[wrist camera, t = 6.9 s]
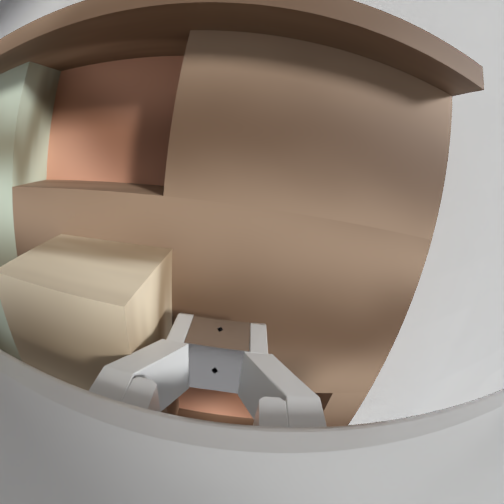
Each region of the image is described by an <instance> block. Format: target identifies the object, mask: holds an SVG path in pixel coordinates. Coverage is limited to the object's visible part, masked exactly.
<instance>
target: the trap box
mask: <svg viewBox="0 0 504 504" xmlns="http://www.w3.org/2000/svg"><path fill="white" fill-rule="evenodd" d="M480 90H484V80H483V68H482V66H481V65H479V64H478V63H477V62H475V61H474V60H472V59H471V58H470V57H468V56H467V55H465V54H464V53H462V52H461V51H459V50H458V49H456V48H454V47H453V46H451V45H450V44H448V43H446V42H445V41H443V40H441V39H440V38H438V37H436V36H434V35H432V34H431V33H429V32H427V31H425V30H423V29H421V28H419V27H417V26H415V25H413V24H411V23H409V22H407V21H405V20H403V19H400V18H398V17H396V16H393V15H391V14H389V13H386V12H384V11H381V10H379V9H376V8H373V7H371V6H368V5H365V4H362V3H359V2H356V1H353V0H85V1H81V2H79V3H76V4H73V5H70V6H67V7H65V8H62V9H60V10H57V11H55V12H52V13H50V14H48V15H45V16H43V17H41V18H39V19H37V20H35V21H33V22H31V23H29V24H27V25H25V26H23V27H21V28H19V29H17V30H15V31H13V32H12V33H10V34H8V35H6V36H5V37H3V38H1V39H0V267H1V266H3V265H4V264H6V263H8V262H9V261H11V260H13V259H15V258H17V257H18V256H20V255H22V254H24V253H26V252H27V251H29V250H31V249H33V248H35V247H37V246H39V245H41V244H43V243H45V242H46V241H48V240H50V239H52V238H54V237H56V236H58V235H61V234H65V235H72V236H79V237H86V238H94V239H101V240H108V241H116V242H123V243H131V244H138V245H146V246H153V247H161V248H168V249H173V250H172V326H173V324H174V321H175V319H176V317H177V315H178V314H179V313H186V314H193V315H198V316H204V317H210V318H216V319H223V320H228V321H238V322H248V323H263V324H266V329H267V344H268V354H273V355H274V356H275V357H276V358H277V359H278V360H279V361H280V362H281V363H282V364H283V365H285V366H286V367H287V368H288V369H289V370H290V371H291V372H292V373H293V374H294V375H295V376H296V377H298V378H299V379H300V380H301V381H302V382H303V383H304V384H305V385H306V386H307V387H309V388H310V389H311V390H312V391H313V392H314V393H315V394H316V395H318V396H319V397H320V400H321V404H322V408H323V413H324V417H325V421H326V426H327V427H333V426H347V425H348V424H349V423H350V421H351V420H352V418H353V417H354V415H355V413H356V412H357V410H358V409H359V407H360V405H361V404H362V402H363V400H364V399H365V397H366V395H367V394H368V392H369V390H370V388H371V387H372V385H373V383H374V381H375V379H376V377H377V376H378V374H379V372H380V370H381V368H382V366H383V364H384V362H385V360H386V358H387V356H388V354H389V352H390V350H391V348H392V346H393V344H394V341H395V339H396V337H397V335H398V333H399V330H400V328H401V326H402V323H403V321H404V319H405V316H406V314H407V311H408V309H409V306H410V304H411V301H412V299H413V296H414V293H415V290H416V288H417V285H418V282H419V279H420V276H421V273H422V270H423V267H424V264H425V261H426V257H427V254H428V251H429V247H430V244H431V240H432V236H433V232H434V229H435V224H436V220H437V216H438V212H439V207H440V202H441V197H442V192H443V187H444V181H445V175H446V168H447V161H448V153H449V144H450V132H451V117H452V96H455V95H460V94H465V93H470V92H475V91H480ZM0 349H1V350H2V351H4V352H6V353H8V354H9V355H11V356H13V357H15V358H17V359H18V360H20V361H22V360H21V357H20V355H19V353H18V350H17V348H16V345H15V343H14V340H13V337H12V334H11V332H10V329H9V326H8V323H7V320H6V317H5V314H4V310H3V307H2V303H1V300H0ZM161 412H163V413H167V414H172V415H177V416H182V417H188V418H193V419H200V420H206V421H213V422H221V423H229V424H239V425H251V426H253V423H254V419H253V418H252V416H251V415H250V413H249V411H248V410H247V408H246V407H245V405H244V404H243V402H242V401H241V399H240V398H239V396H238V394H236V393H229V392H222V391H216V390H208V389H200V388H193V387H189V389H187V390H186V391H185V392H184V393H183V394H182V395H180V396H179V397H178V398H177V399H176V400H174V401H173V402H172V403H171V404H170V405H168V406H167V407H166V408H165V409H164V410H162V411H161Z"/></svg>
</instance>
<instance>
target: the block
mask: <svg viewBox="0 0 504 504" xmlns="http://www.w3.org/2000/svg"><path fill="white" fill-rule="evenodd" d="M172 250H173V249H168V248H161V247H153V246H146V245H138V244H131V243H123V242H116V241H108V240H101V239H94V238H86V237H79V236H72V235H65V234H61V235H58V236H56V237H54V238H52V239H50V240H48V241H46V242H45V243H43V244H41V245H39V246H37V247H35V248H33V249H31V250H29V251H27V252H26V253H24V254H22V255H20V256H18V257H17V258H15V259H13V260H11V261H9V262H8V263H6V264H4V265H3V266H1V267H0V300H1V303H2V307H3V310H4V314H5V317H6V320H7V323H8V326H9V329H10V332H11V334H12V337H13V340H14V343H15V345H16V348H17V350H18V353H19V355H20V357H21V360H22V362H24V363H26V364H28V365H30V366H32V367H34V368H36V369H38V370H40V371H42V372H44V373H46V374H49V375H51V376H53V377H55V378H57V379H60V380H62V381H65V382H67V383H69V384H72V385H74V386H77V387H79V388H82V389H85V390H87V391H89V389H90V388H91V386H92V384H93V383H94V381H95V380H96V378H97V376H98V375H99V373H100V372H101V370H102V369H103V367H104V366H105V365H107V364H110V363H112V362H114V361H116V360H118V359H121V358H123V357H125V356H127V355H131V354H132V353H133V352H136V351H138V350H140V349H142V348H144V347H146V346H148V345H150V344H152V343H154V342H157V341H159V340H161V339H165V340H166V339H167V337H168V334H169V332H170V330H171V328H172Z"/></svg>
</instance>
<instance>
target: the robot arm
mask: <svg viewBox="0 0 504 504" xmlns="http://www.w3.org/2000/svg"><path fill="white" fill-rule="evenodd" d="M189 387H193V388H200V389H208V390H216V391H222V392H229V393H236V394H238V396H239V398H240V399H241V401H242V402H243V404H244V405H245V407H246V408H247V410H248V411H249V413H250V415H251V416H252V418H253V419H254V423H253V426H251V425H239V424H229V423H221V422H213V421H206V420H200V419H193V418H188V417H182V416H177V415H172V414H167V413H163V412H161V411H162V410H164V409H165V408H166V407H167V406H168V405H170V404H171V403H172V402H173V401H174V400H176V399H177V398H178V397H179V396H180V395H182V394H183V393H184V392H185V391H186V390H187V389H189ZM0 504H504V389H502V390H500V391H497V392H495V393H492V394H489V395H487V396H484V397H481V398H478V399H475V400H472V401H469V402H466V403H463V404H460V405H456V406H453V407H449V408H446V409H442V410H438V411H434V412H430V413H426V414H421V415H416V416H411V417H406V418H401V419H395V420H389V421H382V422H375V423H367V424H358V425H347V426H333V427H327V426H326V421H325V417H324V413H323V408H322V404H321V400H320V397H319V396H318V395H316V394H315V393H314V392H313V391H312V390H311V389H310V388H309V387H307V386H306V385H305V384H304V383H303V382H302V381H301V380H300V379H299V378H298V377H296V376H295V375H294V374H293V373H292V372H291V371H290V370H289V369H288V368H287V367H286V366H285V365H283V364H282V363H281V362H280V361H279V360H278V359H277V358H276V357H275V356H274V355H273V354H268V344H267V329H266V324H263V323H248V322H238V321H228V320H223V319H216V318H210V317H204V316H198V315H193V314H186V313H179V314H178V315H177V317H176V319H175V321H174V324H173V326H172V328H171V330H170V332H169V334H168V337H167V339H166V340H165V339H161V340H159V341H157V342H154V343H152V344H150V345H148V346H146V347H144V348H142V349H140V350H138V351H136V352H133V353H132V354H131V355H127V356H125V357H123V358H121V359H118V360H116V361H114V362H112V363H110V364H107V365H105V366H104V367H103V369H102V370H101V372H100V373H99V375H98V376H97V378H96V380H95V381H94V383H93V384H92V386H91V388H90V389H89V391H87V390H85V389H82V388H79V387H77V386H74V385H72V384H69V383H67V382H65V381H62V380H60V379H57V378H55V377H53V376H51V375H49V374H46V373H44V372H42V371H40V370H38V369H36V368H34V367H32V366H30V365H28V364H26V363H24V362H22V361H20V360H18V359H17V358H15V357H13V356H11V355H9V354H8V353H6V352H4V351H2V350H1V349H0Z"/></svg>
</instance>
